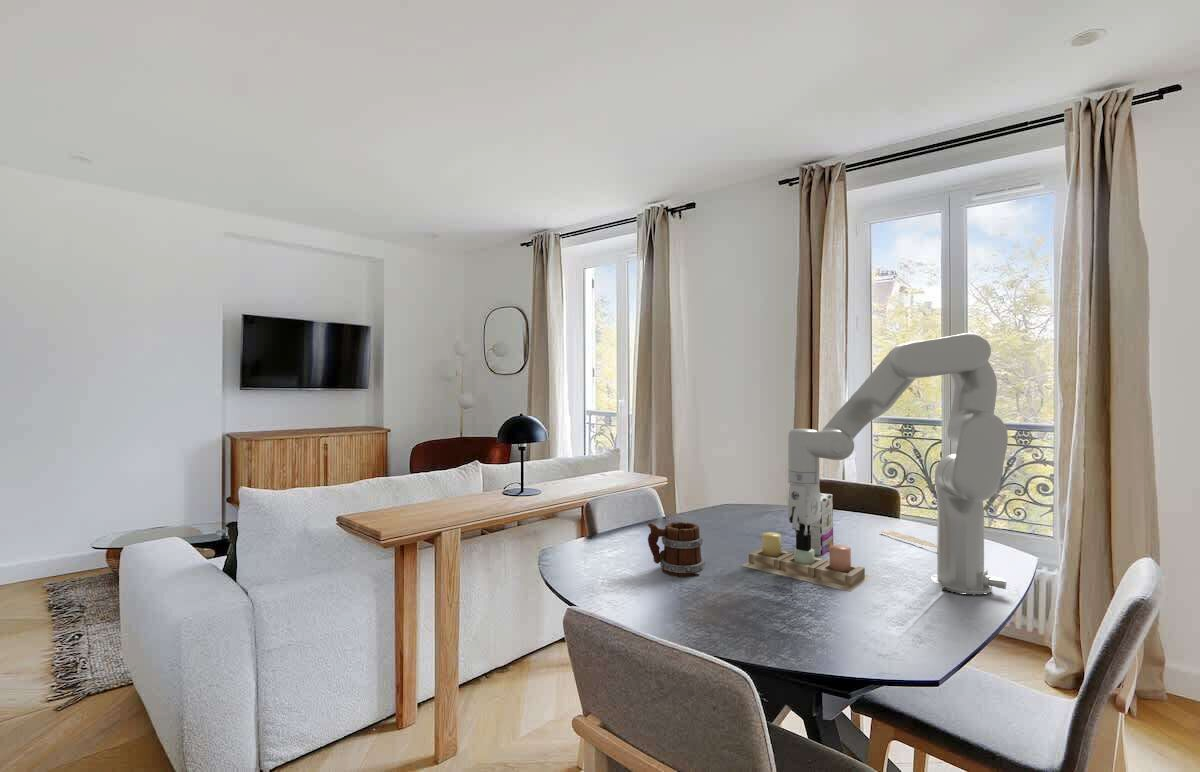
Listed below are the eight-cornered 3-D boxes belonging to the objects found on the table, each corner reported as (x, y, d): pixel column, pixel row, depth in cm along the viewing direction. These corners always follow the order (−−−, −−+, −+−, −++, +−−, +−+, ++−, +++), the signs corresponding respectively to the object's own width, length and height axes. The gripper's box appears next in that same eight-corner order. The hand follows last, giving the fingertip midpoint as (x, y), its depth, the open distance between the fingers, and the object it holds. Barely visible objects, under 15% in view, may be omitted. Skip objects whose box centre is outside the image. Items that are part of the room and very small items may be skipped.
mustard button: (784, 553, 156) (784, 534, 156) (775, 557, 153) (775, 538, 153) (767, 549, 160) (767, 531, 160) (758, 553, 156) (758, 534, 156)
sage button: (817, 569, 150) (817, 549, 150) (809, 573, 147) (809, 553, 147) (799, 565, 154) (799, 545, 153) (791, 569, 150) (791, 549, 150)
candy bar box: (816, 547, 175) (816, 492, 175) (833, 550, 172) (833, 494, 172) (803, 556, 166) (803, 498, 166) (822, 560, 163) (822, 500, 163)
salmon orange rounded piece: (853, 567, 144) (853, 547, 144) (846, 572, 141) (846, 551, 140) (834, 563, 147) (834, 543, 147) (826, 568, 144) (826, 547, 144)
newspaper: (879, 536, 190) (879, 530, 190) (897, 534, 192) (897, 529, 192) (940, 557, 167) (940, 551, 167) (960, 555, 169) (960, 548, 169)
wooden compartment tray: (871, 581, 146) (871, 565, 146) (850, 596, 135) (850, 579, 135) (766, 558, 165) (766, 544, 165) (741, 570, 155) (741, 555, 155)
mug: (715, 575, 150) (705, 517, 149) (661, 588, 147) (650, 530, 147) (700, 561, 161) (690, 508, 161) (650, 573, 159) (640, 519, 158)
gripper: (805, 483, 142) (805, 559, 142) (830, 475, 153) (829, 546, 153) (776, 479, 147) (775, 553, 147) (802, 472, 158) (801, 541, 158)
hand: (803, 549), depth 150 cm, fingers closed
